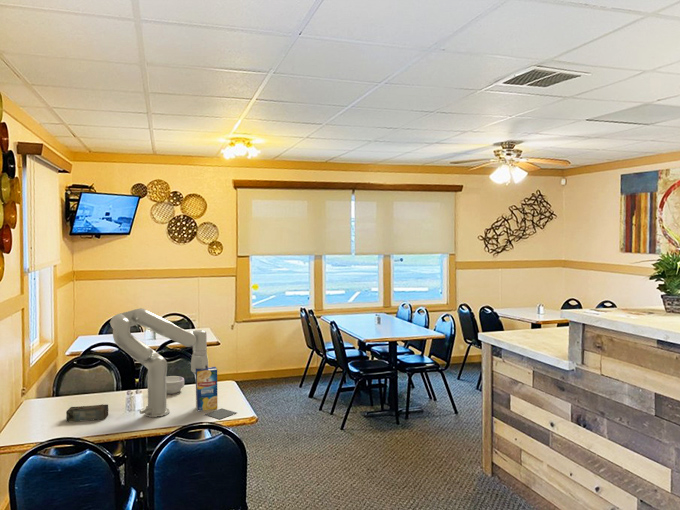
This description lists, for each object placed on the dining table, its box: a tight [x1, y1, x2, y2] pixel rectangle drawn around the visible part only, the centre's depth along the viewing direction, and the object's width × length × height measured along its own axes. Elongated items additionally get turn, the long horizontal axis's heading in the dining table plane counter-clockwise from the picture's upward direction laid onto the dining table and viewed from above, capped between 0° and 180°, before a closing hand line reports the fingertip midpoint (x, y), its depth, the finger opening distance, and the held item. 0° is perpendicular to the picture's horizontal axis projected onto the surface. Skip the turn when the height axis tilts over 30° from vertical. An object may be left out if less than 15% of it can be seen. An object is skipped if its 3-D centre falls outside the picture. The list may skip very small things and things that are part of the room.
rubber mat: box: [204, 407, 237, 420], centre depth 289 cm, size 12×12×1 cm
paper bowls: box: [166, 375, 185, 395], centre depth 330 cm, size 15×15×8 cm
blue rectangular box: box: [195, 366, 218, 412], centre depth 299 cm, size 7×11×22 cm, turn 111°
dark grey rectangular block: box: [65, 403, 109, 422], centre depth 282 cm, size 8×19×7 cm, turn 101°
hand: (200, 384), depth 302 cm, fingers closed
